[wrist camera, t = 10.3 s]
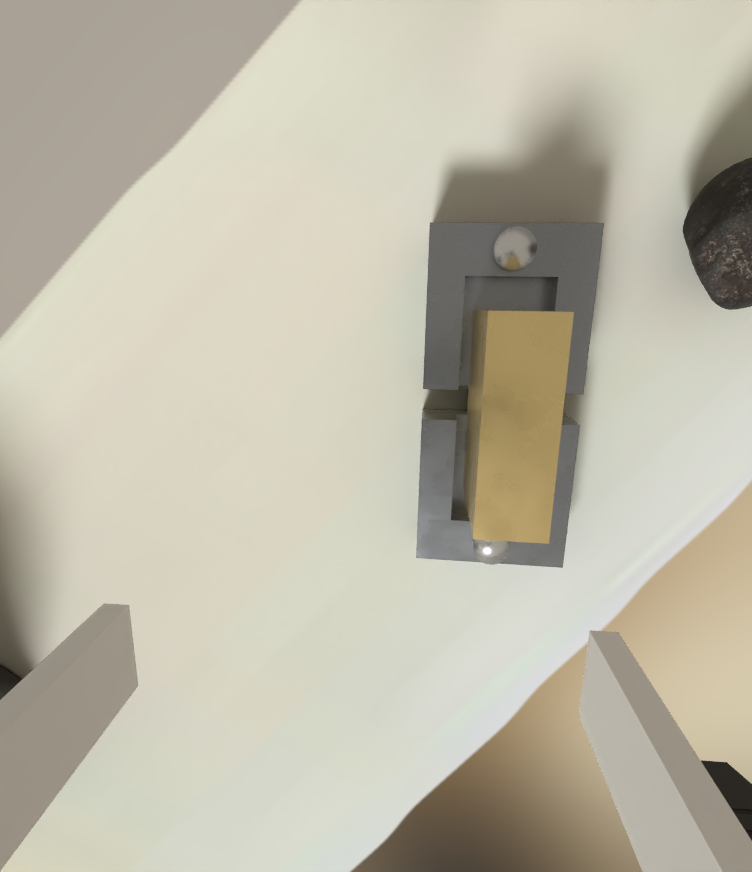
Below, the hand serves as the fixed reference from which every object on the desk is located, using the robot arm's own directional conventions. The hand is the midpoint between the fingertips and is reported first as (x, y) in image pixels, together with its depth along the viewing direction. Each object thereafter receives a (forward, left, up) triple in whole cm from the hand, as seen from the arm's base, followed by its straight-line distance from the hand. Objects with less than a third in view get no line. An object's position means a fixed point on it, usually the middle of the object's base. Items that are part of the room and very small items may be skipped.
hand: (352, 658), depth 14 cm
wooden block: (+7, +4, -22) cm, 24 cm away
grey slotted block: (+7, +4, -24) cm, 25 cm away
